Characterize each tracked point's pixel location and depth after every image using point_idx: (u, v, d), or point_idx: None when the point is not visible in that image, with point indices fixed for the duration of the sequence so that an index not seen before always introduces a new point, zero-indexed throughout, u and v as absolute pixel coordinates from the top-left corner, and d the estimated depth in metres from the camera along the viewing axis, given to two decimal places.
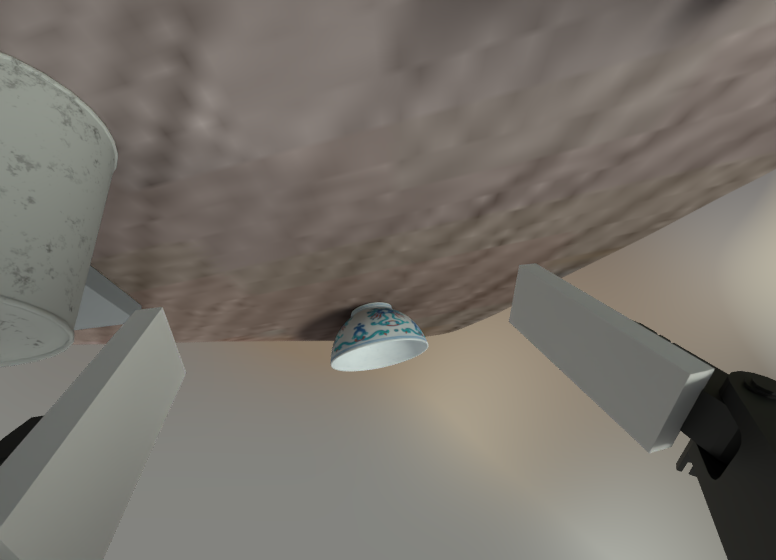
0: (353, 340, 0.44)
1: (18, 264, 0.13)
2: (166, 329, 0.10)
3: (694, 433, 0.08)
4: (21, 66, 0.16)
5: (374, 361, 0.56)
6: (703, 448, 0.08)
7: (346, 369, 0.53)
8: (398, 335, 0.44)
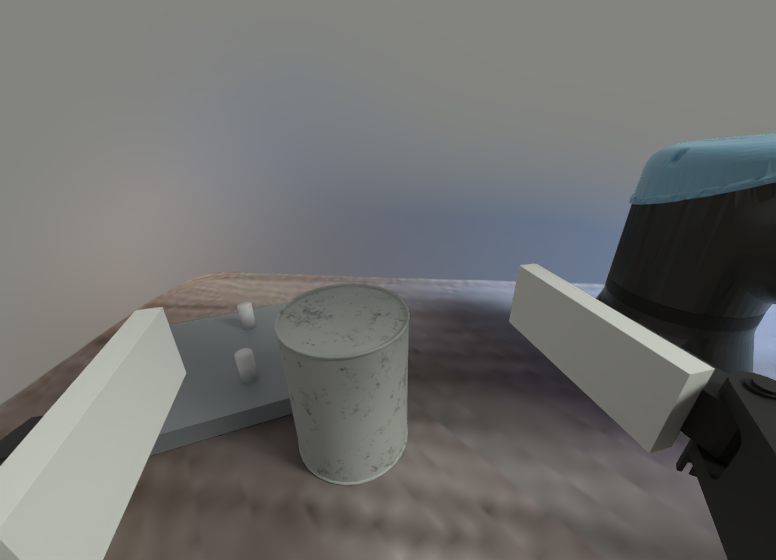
0: None
1: (387, 364, 0.21)
2: (166, 329, 0.10)
3: (694, 433, 0.08)
4: (403, 445, 0.27)
5: None
6: (703, 448, 0.08)
7: None
8: None
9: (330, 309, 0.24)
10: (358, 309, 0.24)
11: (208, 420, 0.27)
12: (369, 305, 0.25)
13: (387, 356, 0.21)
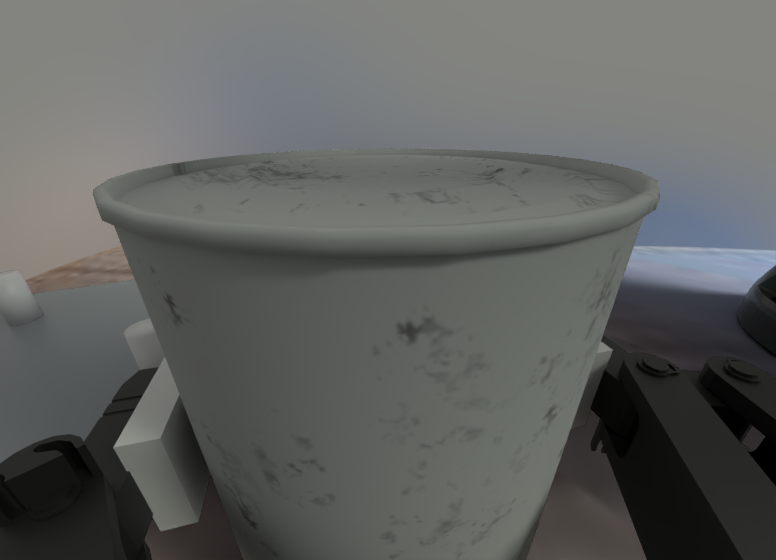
0: None
1: (600, 321, 0.05)
2: None
3: (602, 415, 0.09)
4: None
5: None
6: (610, 428, 0.09)
7: None
8: None
9: (334, 170, 0.08)
10: (422, 170, 0.08)
11: None
12: (450, 167, 0.08)
13: (613, 280, 0.04)
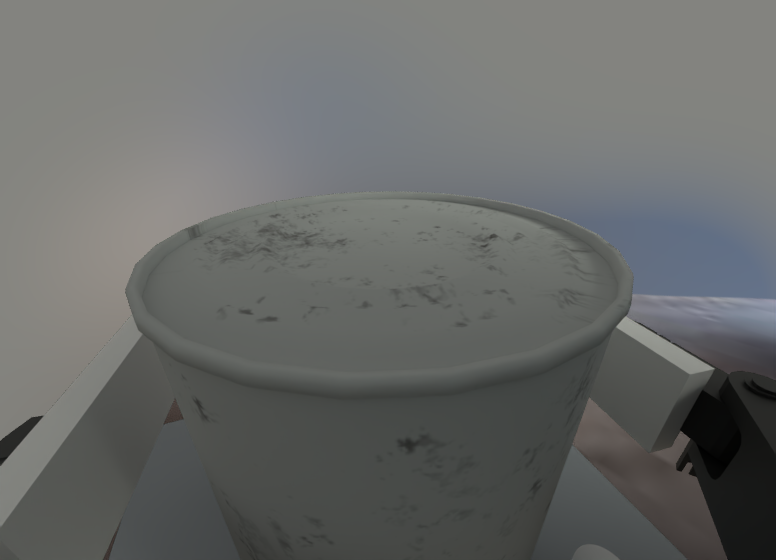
0: None
1: (580, 405, 0.05)
2: None
3: (694, 433, 0.08)
4: None
5: None
6: (703, 448, 0.08)
7: None
8: None
9: (339, 229, 0.08)
10: (421, 230, 0.08)
11: None
12: (447, 223, 0.09)
13: (591, 373, 0.05)
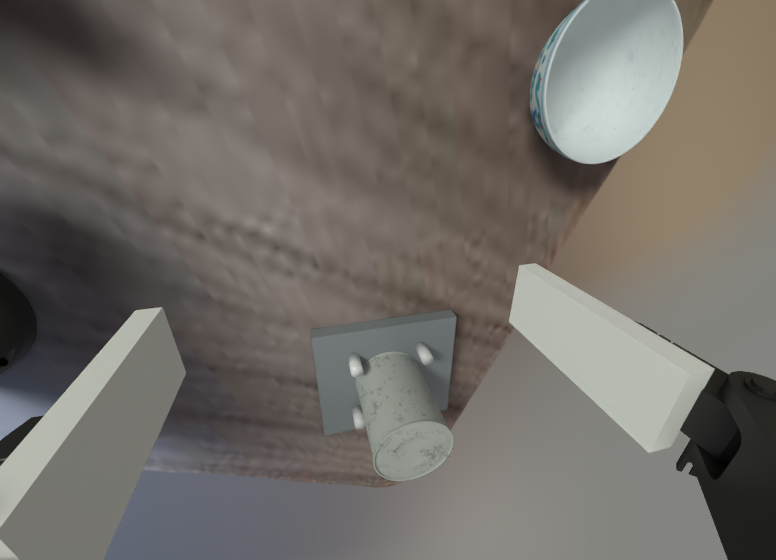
0: (542, 130, 0.32)
1: (396, 416, 0.36)
2: (166, 329, 0.10)
3: (694, 433, 0.08)
4: (364, 366, 0.45)
5: (661, 82, 0.33)
6: (703, 448, 0.08)
7: (639, 137, 0.34)
8: (548, 56, 0.29)
9: (419, 457, 0.37)
10: (403, 456, 0.37)
11: (377, 328, 0.43)
12: (395, 460, 0.36)
13: (398, 420, 0.35)
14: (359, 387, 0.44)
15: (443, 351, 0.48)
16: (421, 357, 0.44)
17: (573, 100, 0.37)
